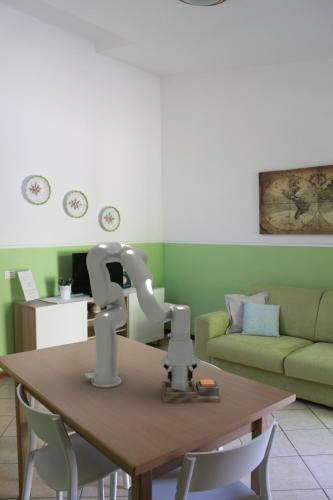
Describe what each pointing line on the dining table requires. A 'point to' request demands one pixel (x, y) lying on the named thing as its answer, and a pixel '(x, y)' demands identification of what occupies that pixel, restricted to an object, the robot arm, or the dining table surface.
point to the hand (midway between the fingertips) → (180, 380)
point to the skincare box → (180, 377)
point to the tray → (190, 393)
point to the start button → (207, 383)
